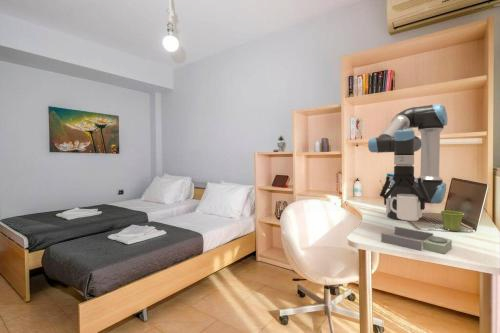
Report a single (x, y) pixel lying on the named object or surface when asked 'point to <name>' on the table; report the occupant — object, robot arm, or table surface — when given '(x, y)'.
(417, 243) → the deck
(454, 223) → the plant pot
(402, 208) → the cup
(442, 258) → the table surface
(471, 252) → the table surface
